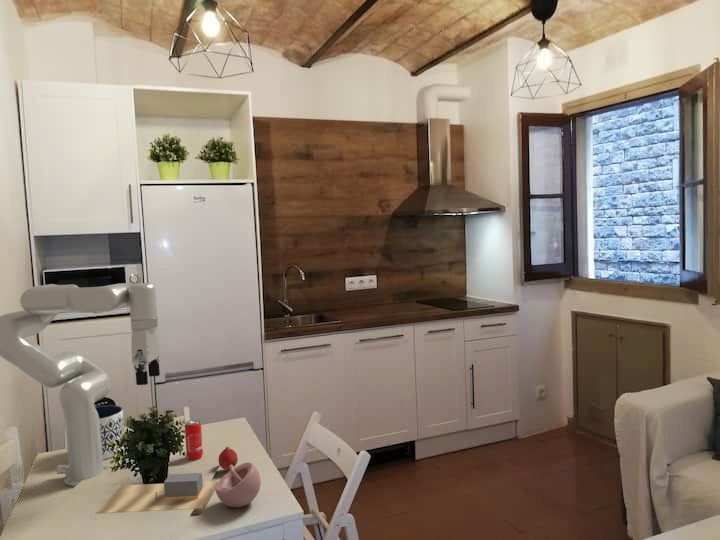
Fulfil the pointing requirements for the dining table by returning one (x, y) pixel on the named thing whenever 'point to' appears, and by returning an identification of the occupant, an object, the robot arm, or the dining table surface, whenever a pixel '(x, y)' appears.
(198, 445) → the beverage can
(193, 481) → the block
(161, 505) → the oak board
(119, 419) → the planter
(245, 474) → the mortar and pestle
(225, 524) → the dining table surface
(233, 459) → the pomegranate
